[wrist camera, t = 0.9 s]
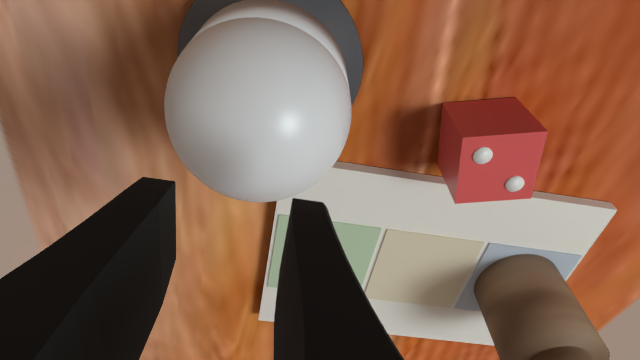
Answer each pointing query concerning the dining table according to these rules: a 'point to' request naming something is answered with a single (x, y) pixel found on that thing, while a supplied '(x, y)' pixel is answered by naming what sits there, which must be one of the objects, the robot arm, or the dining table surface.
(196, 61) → the dome
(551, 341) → the pawn
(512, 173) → the red die
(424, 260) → the game board
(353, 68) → the dome base
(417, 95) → the dining table surface
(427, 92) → the dining table surface
